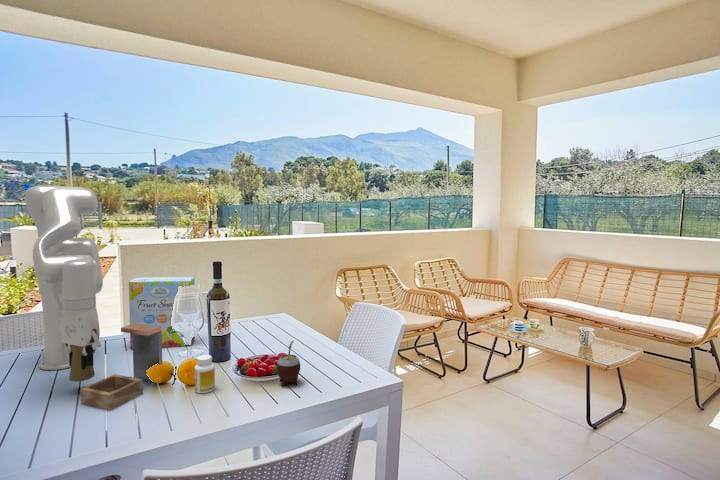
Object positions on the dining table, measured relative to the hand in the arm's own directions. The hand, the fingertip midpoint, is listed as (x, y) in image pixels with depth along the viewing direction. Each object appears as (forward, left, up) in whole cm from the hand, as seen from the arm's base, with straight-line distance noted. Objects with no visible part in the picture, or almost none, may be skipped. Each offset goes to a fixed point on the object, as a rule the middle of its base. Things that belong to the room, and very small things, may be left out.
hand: (81, 365), depth 115 cm
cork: (0, 0, -3) cm, 3 cm away
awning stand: (+12, +9, -7) cm, 17 cm away
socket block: (+12, -1, -7) cm, 14 cm away
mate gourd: (+53, +24, -8) cm, 59 cm away
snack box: (-8, +38, -8) cm, 40 cm away
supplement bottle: (+32, +12, -8) cm, 35 cm away
